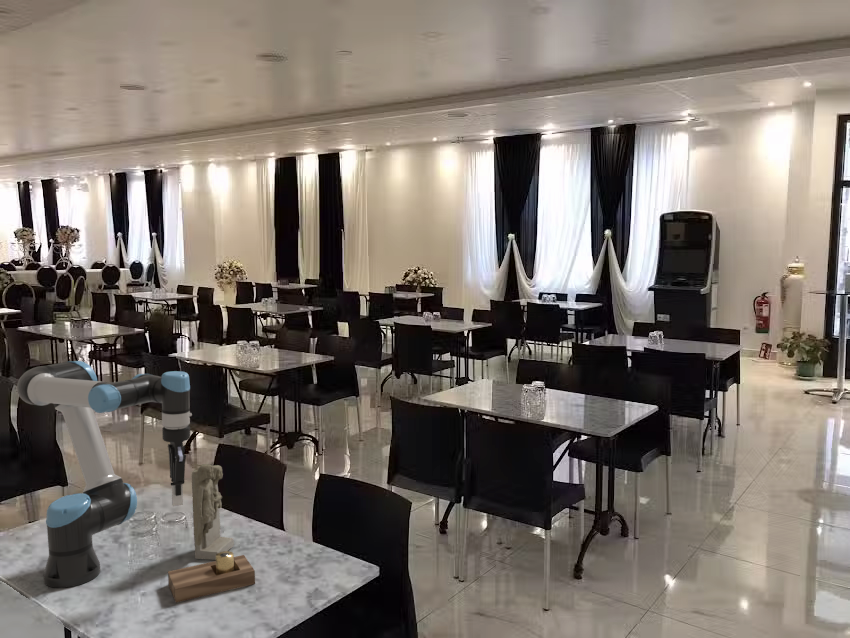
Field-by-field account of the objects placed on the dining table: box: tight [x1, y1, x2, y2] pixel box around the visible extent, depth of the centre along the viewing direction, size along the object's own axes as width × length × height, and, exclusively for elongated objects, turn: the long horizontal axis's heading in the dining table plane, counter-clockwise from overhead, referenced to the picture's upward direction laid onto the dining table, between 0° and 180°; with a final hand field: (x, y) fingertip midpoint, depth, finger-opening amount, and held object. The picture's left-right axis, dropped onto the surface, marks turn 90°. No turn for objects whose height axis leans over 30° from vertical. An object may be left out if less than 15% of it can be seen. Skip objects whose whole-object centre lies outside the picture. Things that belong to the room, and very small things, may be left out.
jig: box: [167, 554, 256, 604], centre depth 203 cm, size 12×22×4 cm, turn 119°
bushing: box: [215, 550, 235, 575], centre depth 205 cm, size 5×5×8 cm
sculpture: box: [191, 463, 235, 561], centre depth 222 cm, size 15×8×30 cm, turn 168°
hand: (177, 504), depth 203 cm, fingers closed
